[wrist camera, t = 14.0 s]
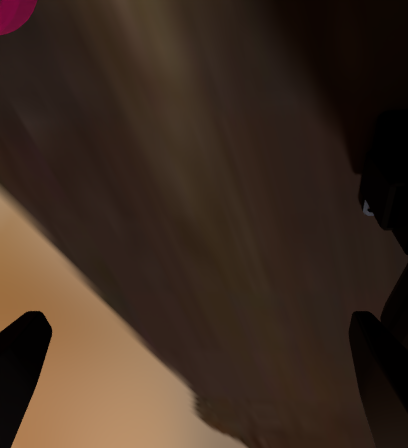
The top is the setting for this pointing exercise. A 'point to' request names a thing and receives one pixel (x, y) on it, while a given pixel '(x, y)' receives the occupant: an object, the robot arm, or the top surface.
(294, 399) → the top surface
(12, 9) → the pepper mill
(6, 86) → the top surface
